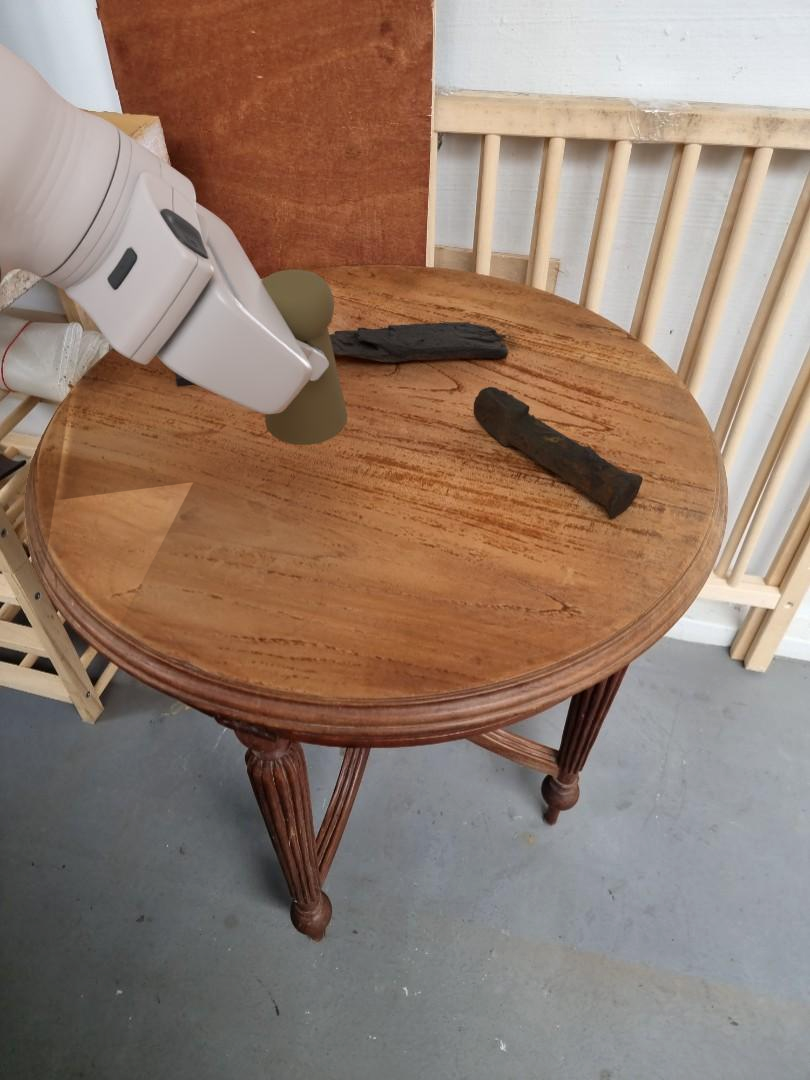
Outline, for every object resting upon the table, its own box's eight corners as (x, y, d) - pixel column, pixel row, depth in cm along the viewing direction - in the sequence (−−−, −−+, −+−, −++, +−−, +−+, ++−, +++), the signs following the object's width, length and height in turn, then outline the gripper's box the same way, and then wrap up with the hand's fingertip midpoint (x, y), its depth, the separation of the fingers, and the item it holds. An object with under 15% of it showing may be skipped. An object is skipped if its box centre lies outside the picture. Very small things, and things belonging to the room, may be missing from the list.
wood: (501, 325, 91) (503, 301, 89) (512, 361, 86) (515, 337, 84) (311, 335, 90) (309, 311, 87) (312, 372, 85) (310, 348, 82)
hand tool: (639, 505, 70) (651, 466, 67) (610, 525, 69) (621, 486, 65) (493, 407, 80) (497, 369, 77) (464, 423, 79) (467, 384, 75)
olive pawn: (254, 439, 55) (229, 299, 47) (278, 390, 59) (259, 253, 51) (336, 449, 55) (325, 309, 47) (355, 398, 59) (348, 261, 51)
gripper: (72, 203, 51) (241, 308, 60) (122, 372, 38) (326, 470, 48) (124, 120, 49) (290, 242, 58) (196, 269, 36) (393, 394, 46)
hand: (307, 346), depth 53 cm, fingers closed on olive pawn, 4 cm apart
